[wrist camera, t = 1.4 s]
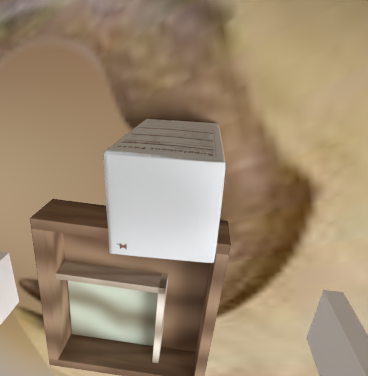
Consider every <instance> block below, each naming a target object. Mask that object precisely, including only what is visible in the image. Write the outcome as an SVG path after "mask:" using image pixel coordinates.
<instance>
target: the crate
mask: <svg viewBox="0 0 368 376" xmlns="http://www.w3.org/2000/svg"><path fill="white" fill-rule="evenodd" d="M30 223H31V230H32V238H33V245H34V252H35V260H36V267H37V275H38V282H39V289H40V297H41V304H42V311H43V319H44V326H45V334H46V341H47V348H48V356H49V363H50V365H55V366H62V367H68V368H75V369H82V370H88V371H95V372H101V373H108V374H115V375H121V376H205V371H206V366H207V361H208V356H209V351H210V346H211V341H212V336H213V331H214V326H215V321H216V316H217V311H218V306H219V301H220V296H221V291H222V286H223V281H224V276H225V271H226V266H227V261H228V256H229V251H230V246H231V243H230V235H229V226H228V222H227V221H220V222H219V230H218V238H217V246H216V253H215V259H214V262H213V263H204V262H193V261H183V260H171V259H161V258H150V257H140V256H129V255H121V254H111V253H110V252H109V233H108V218H107V208H106V206H103V205H96V204H88V203H80V202H72V201H64V200H57V199H52V200H51V201H50V202H49V203H47V204H46V205H45V206H44V207H43V208H42V209H41V210H39V211H38V212H37V213H36V214H34V215H33V216H32V217H31V218H30Z"/></svg>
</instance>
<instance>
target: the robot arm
mask: <svg viewBox="0 0 368 376" xmlns="http://www.w3.org/2000/svg"><path fill="white" fill-rule="evenodd" d="M18 302H19V298H18V294H17V289H16V284H15V280H14V275H13V271H12V266H11V261H10V256H9V253H6V252H0V324H1V323H2V322H3V321H4V320H5V318H6V317H7V316H8V315H9V313H10V312H11V311H12V310H13V309H14V307H15V306H16V305H17V303H18ZM307 341H308V344H309V347H310V350H311V352H312V355H313V358H314V361H315V364H316V367H317V370H318V373H319V375H320V376H368V335H367V333H366V331H365V329H364V328H363V326H362V324H361V323H360V321H359V319H358V317H357V316H356V314H355V312H354V310H353V309H352V307H351V305H350V304H349V302H348V300H347V298H346V297H345V295H344V293H343V292H336V291H327V290H323V293H322V296H321V299H320V301H319V304H318V307H317V310H316V313H315V315H314V318H313V321H312V324H311V327H310V329H309V332H308V335H307Z"/></svg>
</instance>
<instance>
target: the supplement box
mask: <svg viewBox="0 0 368 376" xmlns="http://www.w3.org/2000/svg"><path fill="white" fill-rule="evenodd" d="M103 156H104V157H103V158H104V172H105V186H106V208H107V218H108V233H109V252H110V253H111V254H121V255H129V256H140V257H150V258H161V259H171V260H183V261H193V262H204V263H213V262H214V259H215V253H216V246H217V238H218V230H219V222H220V214H221V205H222V196H223V186H224V175H225V159H224V153H223V146H222V140H221V134H220V129H219V124H218V123H204V122H189V121H174V120H159V119H146V120H144V121H143V122H142V123H140V124H139V125H138V126H137V127H135V128H134V129H133V130H131V131H130V132H129V133H128V134H126V135H125V136H124V137H123V138H121V139H120V140H119V141H118V142H116V143H115V144H114V145H113V146H111V147H110V148H108V149H107V150H106V151H104V155H103Z"/></svg>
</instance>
